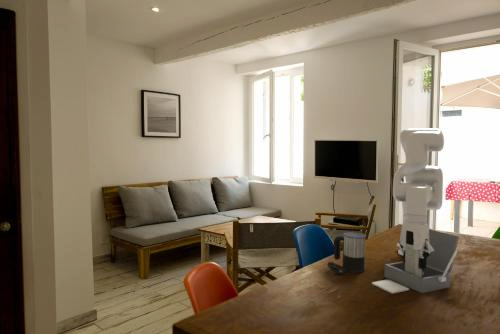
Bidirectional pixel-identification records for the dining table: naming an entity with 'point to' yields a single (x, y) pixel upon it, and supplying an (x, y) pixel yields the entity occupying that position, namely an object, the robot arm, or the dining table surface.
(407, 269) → the spray can
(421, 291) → the case
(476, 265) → the dining table surface
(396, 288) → the pad
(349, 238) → the milk frother
